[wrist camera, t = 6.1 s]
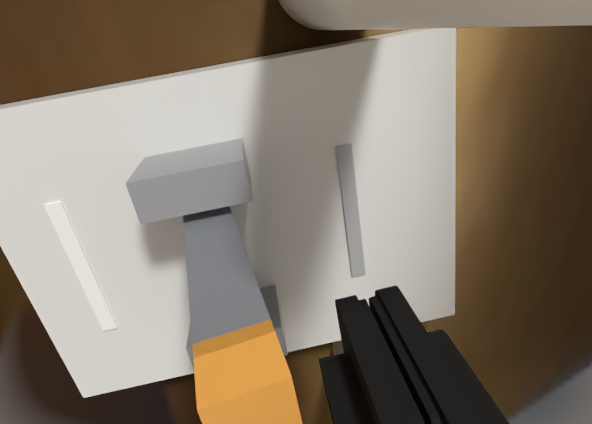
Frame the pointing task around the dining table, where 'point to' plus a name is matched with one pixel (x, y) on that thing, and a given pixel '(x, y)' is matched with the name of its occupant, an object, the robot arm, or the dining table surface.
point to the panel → (233, 196)
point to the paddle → (232, 330)
